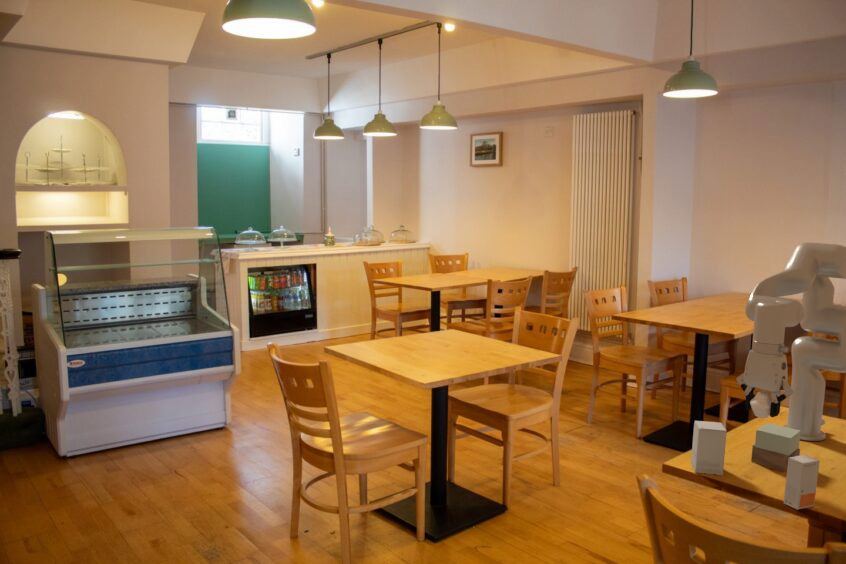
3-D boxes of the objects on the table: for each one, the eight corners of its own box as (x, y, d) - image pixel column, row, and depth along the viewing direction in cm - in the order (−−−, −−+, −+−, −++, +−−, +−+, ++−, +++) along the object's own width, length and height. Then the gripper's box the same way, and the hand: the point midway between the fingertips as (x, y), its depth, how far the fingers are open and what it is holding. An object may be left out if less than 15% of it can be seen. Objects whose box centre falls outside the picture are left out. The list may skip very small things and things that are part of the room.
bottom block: (767, 455, 213) (768, 439, 213) (798, 465, 206) (800, 448, 206) (751, 462, 208) (752, 445, 207) (782, 472, 201) (784, 455, 200)
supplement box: (723, 475, 197) (727, 430, 195) (694, 473, 198) (698, 428, 196) (718, 465, 204) (722, 422, 202) (690, 462, 205) (693, 419, 204)
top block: (765, 439, 213) (767, 422, 212) (798, 447, 207) (800, 430, 206) (754, 446, 206) (756, 429, 205) (788, 455, 200) (790, 438, 199)
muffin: (754, 410, 202) (756, 386, 201) (777, 416, 197) (779, 391, 196) (745, 415, 197) (747, 390, 196) (768, 421, 193) (770, 396, 192)
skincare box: (797, 510, 177) (802, 463, 175) (782, 503, 180) (787, 457, 179) (815, 506, 179) (820, 460, 177) (800, 499, 183) (805, 454, 181)
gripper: (807, 352, 190) (800, 419, 193) (744, 339, 204) (739, 401, 206) (792, 356, 185) (786, 424, 188) (729, 343, 199) (724, 406, 202)
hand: (761, 412), depth 197 cm, fingers closed on muffin, 6 cm apart
